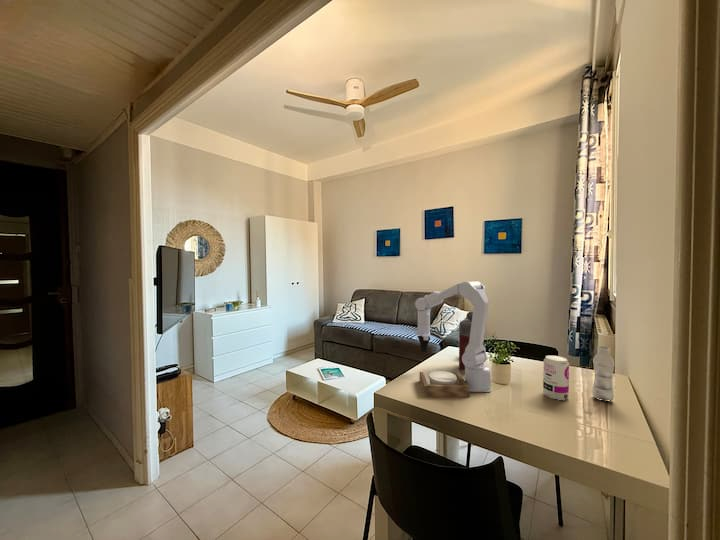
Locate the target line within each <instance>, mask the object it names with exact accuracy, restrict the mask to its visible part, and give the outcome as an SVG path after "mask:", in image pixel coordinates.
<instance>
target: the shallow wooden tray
mask: <svg viewBox="0 0 720 540" xmlns="http://www.w3.org/2000/svg"><path fill="white" fill-rule="evenodd" d="M455 376H456V377H457V380H456V385H433V384H429V383H428V381H427V379H426V376H425V374H424V371H419V384H420V387H421V389H422V392H423V393H422V394H423V395H424V397H445V398H446V397H448V398H450V397H451V398H452V397H453V398H455V397H456V398H470V392H469V386H468V384H467V383H466V382H465V378H463V376H462V375H461V373H460V372H455Z"/></svg>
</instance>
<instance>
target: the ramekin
mask: <svg viewBox="0 0 720 540" xmlns="http://www.w3.org/2000/svg"><path fill="white" fill-rule="evenodd" d="M428 378H429V383H430V384H433V385H457V383H456V380H457V377H456V374H454V373H452V372H449V371H444V370H434V371H431V372H430V373H429V375H428Z"/></svg>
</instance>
